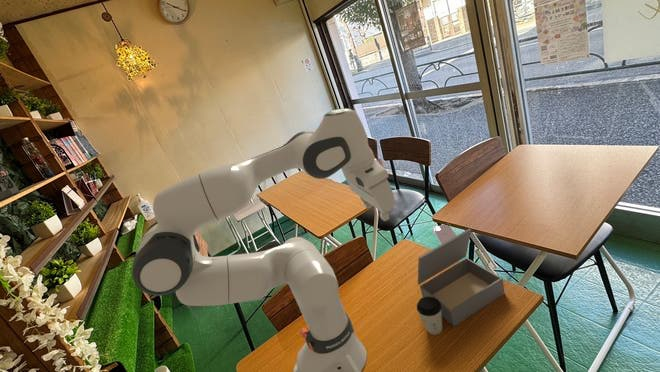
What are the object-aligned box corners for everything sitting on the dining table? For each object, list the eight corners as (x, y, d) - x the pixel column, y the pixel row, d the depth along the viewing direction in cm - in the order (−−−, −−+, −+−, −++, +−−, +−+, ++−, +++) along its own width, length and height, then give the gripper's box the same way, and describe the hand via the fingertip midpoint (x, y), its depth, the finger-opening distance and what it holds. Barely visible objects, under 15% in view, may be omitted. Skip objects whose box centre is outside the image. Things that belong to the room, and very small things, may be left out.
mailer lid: (419, 258, 92) (418, 257, 92) (418, 284, 101) (417, 283, 101) (471, 229, 97) (469, 228, 97) (465, 256, 106) (464, 255, 106)
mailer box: (454, 327, 90) (450, 311, 88) (423, 300, 102) (419, 286, 100) (504, 293, 95) (502, 278, 93) (469, 271, 107) (466, 257, 105)
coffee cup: (448, 321, 92) (442, 295, 89) (444, 340, 87) (437, 314, 83) (425, 316, 96) (419, 292, 93) (419, 335, 91) (412, 309, 87)
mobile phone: (441, 245, 124) (431, 227, 138) (442, 247, 124) (431, 228, 138) (460, 240, 123) (448, 222, 137) (461, 242, 123) (448, 224, 137)
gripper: (335, 165, 87) (351, 205, 93) (367, 185, 69) (386, 233, 74) (353, 156, 89) (369, 195, 94) (391, 172, 70) (407, 220, 76)
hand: (377, 212), depth 84 cm, fingers open, 8 cm apart
